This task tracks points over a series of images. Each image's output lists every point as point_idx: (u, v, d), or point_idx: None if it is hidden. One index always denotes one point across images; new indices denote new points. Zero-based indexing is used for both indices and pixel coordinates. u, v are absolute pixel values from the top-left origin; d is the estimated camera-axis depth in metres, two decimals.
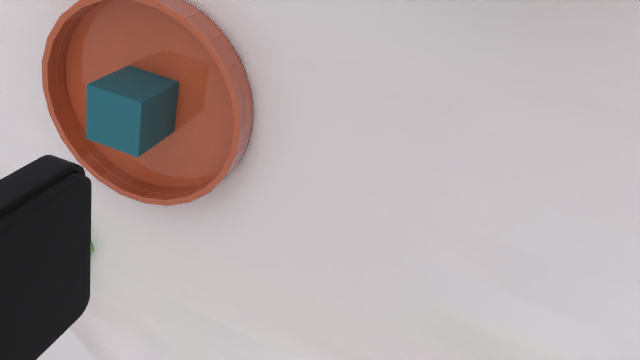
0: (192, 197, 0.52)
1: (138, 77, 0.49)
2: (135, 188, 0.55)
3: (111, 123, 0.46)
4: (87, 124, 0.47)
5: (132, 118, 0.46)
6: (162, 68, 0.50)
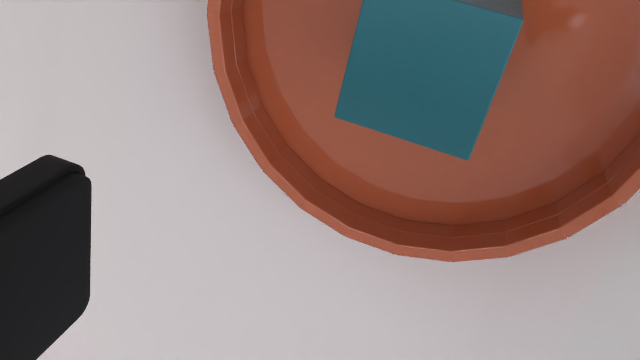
0: (244, 132, 0.26)
1: None
2: None
3: (415, 67, 0.19)
4: None
5: (431, 128, 0.20)
6: (507, 76, 0.24)
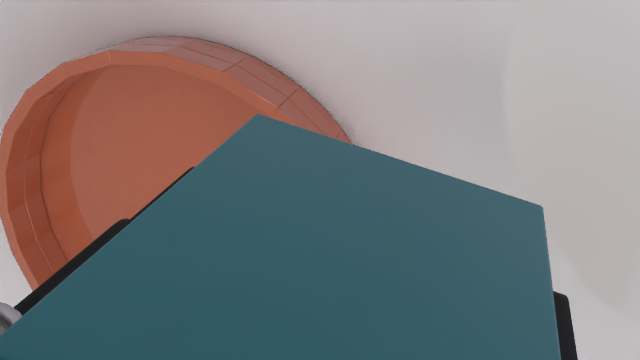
0: None
1: None
2: (19, 181, 0.29)
3: None
4: None
5: None
6: None
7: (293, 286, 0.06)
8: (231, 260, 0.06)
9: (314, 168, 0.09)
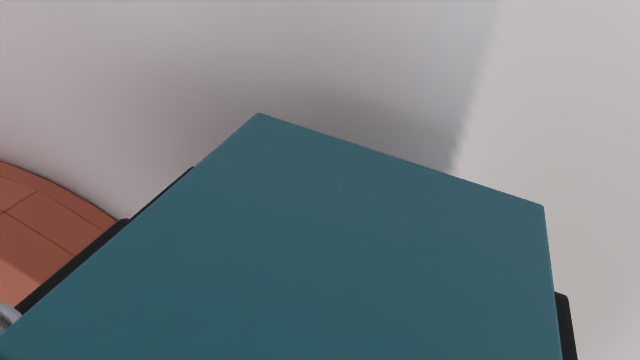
0: None
1: None
2: None
3: None
4: None
5: None
6: None
7: (294, 284, 0.06)
8: (232, 258, 0.06)
9: (315, 167, 0.08)
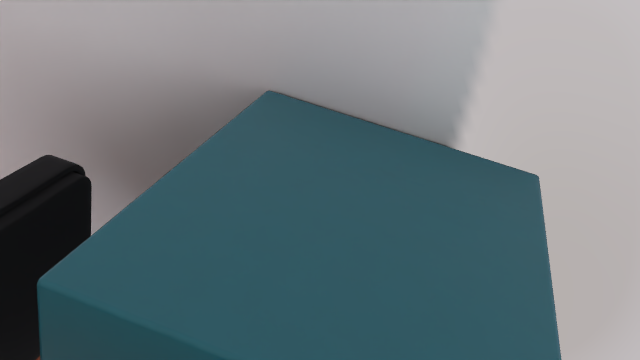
0: None
1: None
2: None
3: None
4: (172, 347, 0.05)
5: None
6: None
7: (308, 236, 0.07)
8: (250, 214, 0.07)
9: (323, 138, 0.09)
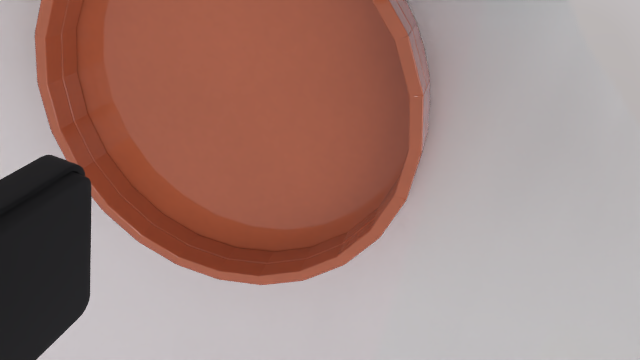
0: None
1: None
2: (57, 53, 0.28)
3: None
4: None
5: None
6: (292, 130, 0.28)
7: None
8: None
9: None
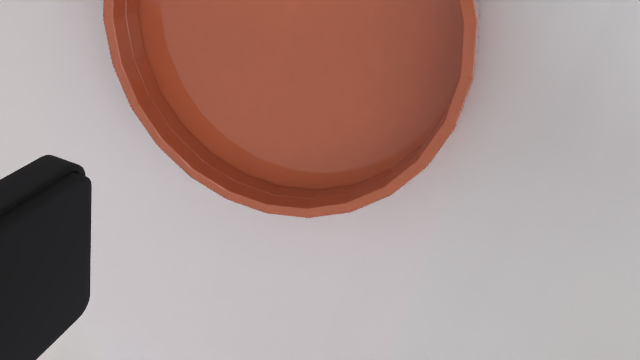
0: (140, 115, 0.32)
1: None
2: None
3: None
4: None
5: None
6: (343, 66, 0.30)
7: None
8: None
9: None
